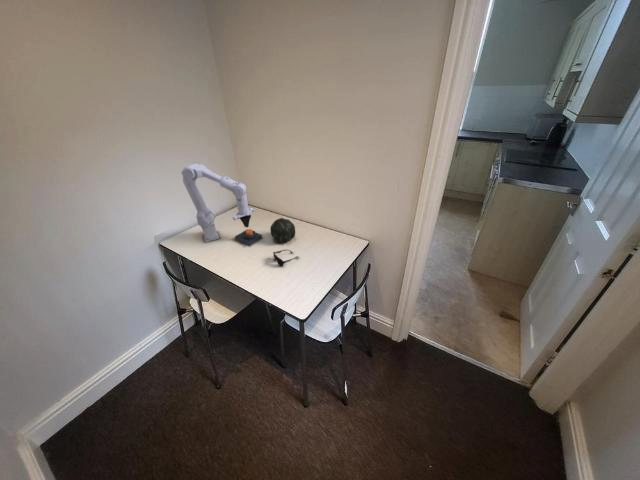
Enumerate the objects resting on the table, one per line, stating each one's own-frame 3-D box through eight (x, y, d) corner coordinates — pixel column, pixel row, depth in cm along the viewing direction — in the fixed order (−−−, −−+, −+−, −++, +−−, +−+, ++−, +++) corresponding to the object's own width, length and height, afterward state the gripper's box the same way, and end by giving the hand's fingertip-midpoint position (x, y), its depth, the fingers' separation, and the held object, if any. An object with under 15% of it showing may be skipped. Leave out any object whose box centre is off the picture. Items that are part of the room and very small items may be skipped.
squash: (294, 221, 160) (277, 208, 150) (303, 233, 149) (286, 220, 139) (279, 238, 161) (261, 226, 151) (287, 251, 150) (268, 239, 140)
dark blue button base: (235, 239, 152) (234, 233, 150) (248, 232, 159) (247, 226, 157) (249, 246, 147) (248, 239, 144) (262, 238, 154) (261, 231, 151)
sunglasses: (270, 258, 136) (270, 250, 134) (289, 253, 143) (290, 245, 141) (280, 268, 129) (280, 260, 127) (300, 262, 136) (300, 254, 134)
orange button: (244, 234, 150) (244, 231, 149) (249, 231, 152) (249, 228, 151) (249, 236, 148) (248, 233, 147) (254, 233, 151) (254, 230, 149)
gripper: (237, 211, 133) (241, 234, 141) (257, 202, 143) (260, 223, 151) (228, 208, 137) (233, 230, 144) (248, 199, 147) (252, 220, 154)
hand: (246, 226), depth 148 cm, fingers closed
